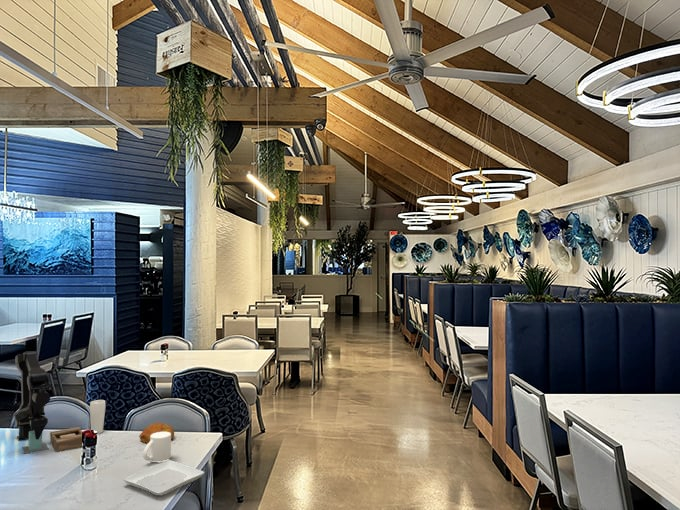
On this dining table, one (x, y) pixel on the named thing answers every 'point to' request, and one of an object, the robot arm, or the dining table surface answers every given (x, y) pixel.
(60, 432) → the crate
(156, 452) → the mug
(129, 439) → the dining table surface
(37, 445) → the block
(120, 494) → the dining table surface
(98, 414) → the drinking glass
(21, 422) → the robot arm
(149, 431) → the croissant
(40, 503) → the dining table surface
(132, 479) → the salad plate
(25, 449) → the mat
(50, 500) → the dining table surface
